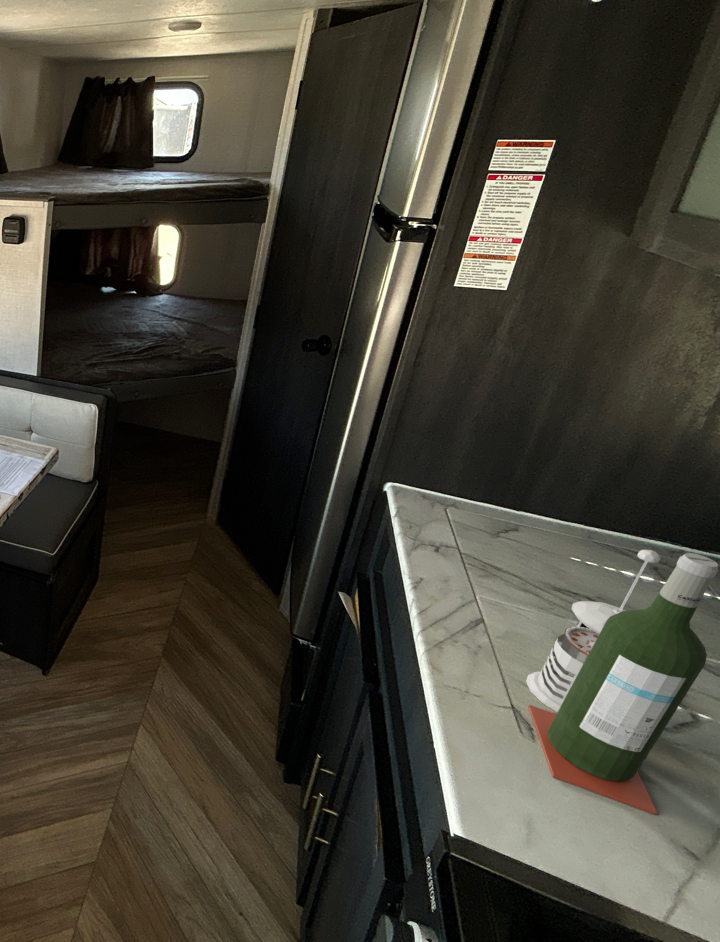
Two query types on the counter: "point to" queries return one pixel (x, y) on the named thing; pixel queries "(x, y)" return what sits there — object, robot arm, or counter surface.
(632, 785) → the napkin
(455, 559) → the counter surface
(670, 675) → the wine bottle
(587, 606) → the french press
